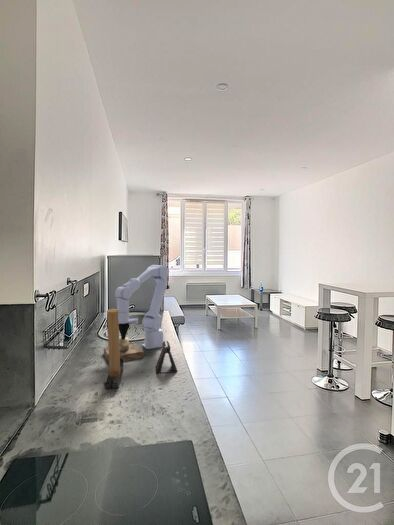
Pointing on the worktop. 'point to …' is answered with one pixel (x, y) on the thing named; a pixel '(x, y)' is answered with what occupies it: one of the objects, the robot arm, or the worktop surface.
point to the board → (128, 353)
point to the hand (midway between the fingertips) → (123, 338)
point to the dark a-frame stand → (161, 358)
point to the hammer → (114, 351)
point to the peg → (124, 344)
